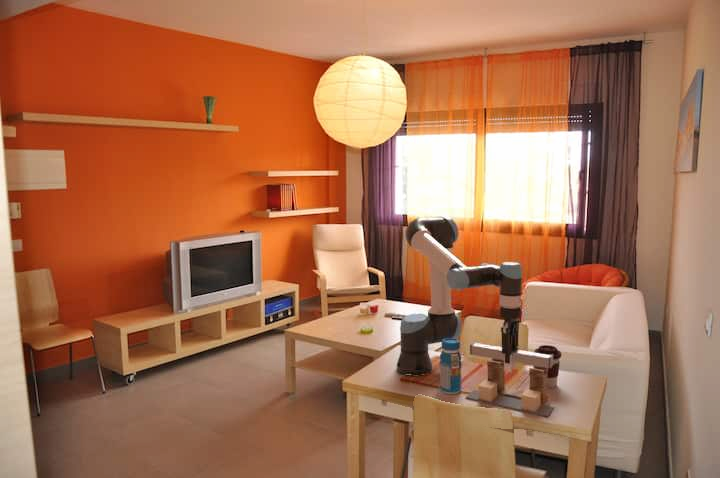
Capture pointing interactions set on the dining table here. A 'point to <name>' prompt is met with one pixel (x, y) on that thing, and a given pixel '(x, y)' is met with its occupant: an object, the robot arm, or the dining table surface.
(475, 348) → the rail
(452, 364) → the beverage bottle
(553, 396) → the dining table surface
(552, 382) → the coffee cup
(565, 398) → the dining table surface
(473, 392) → the twin block support stand
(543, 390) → the pair of wooden supports
